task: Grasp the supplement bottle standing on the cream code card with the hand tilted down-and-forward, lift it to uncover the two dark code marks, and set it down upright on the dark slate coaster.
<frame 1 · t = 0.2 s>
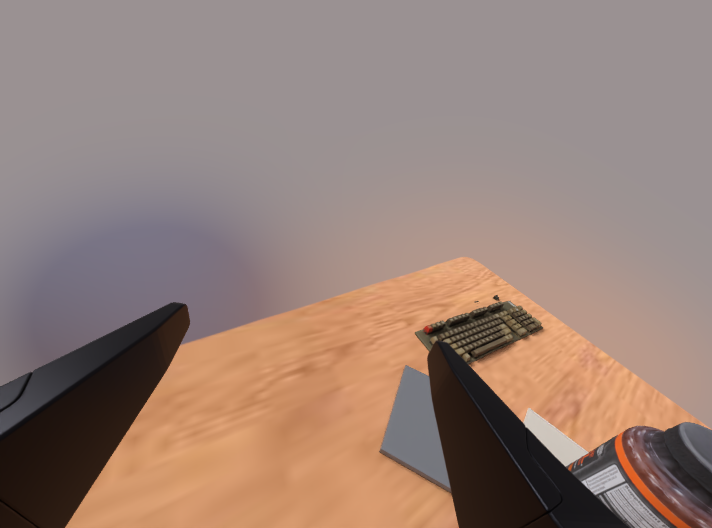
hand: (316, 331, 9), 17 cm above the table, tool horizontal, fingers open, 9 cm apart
slate coaster: (438, 427, 24), on the table
keyboard: (477, 330, 38), on the table
code card: (588, 516, 21), on the table
supplement bottle: (588, 516, 21), resting on code card
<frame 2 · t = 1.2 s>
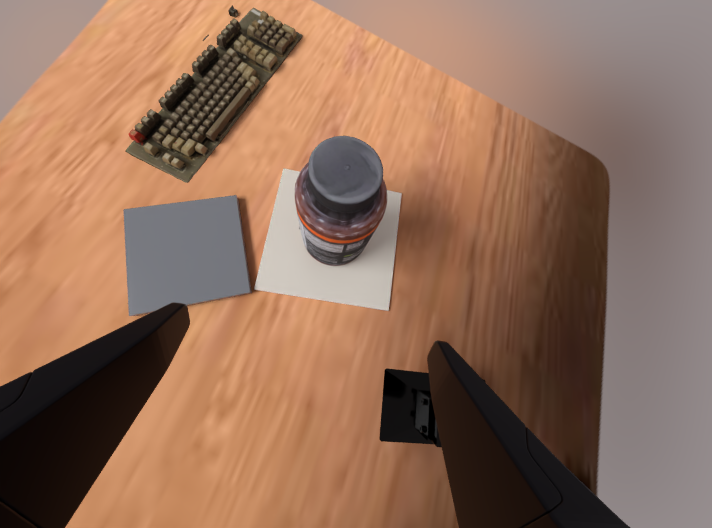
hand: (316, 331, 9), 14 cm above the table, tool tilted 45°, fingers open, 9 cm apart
slate coaster: (190, 252, 22), on the table
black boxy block: (432, 405, 23), on the table
keyboard: (220, 91, 27), on the table
code card: (334, 237, 24), on the table
supplement bottle: (334, 237, 24), resting on code card
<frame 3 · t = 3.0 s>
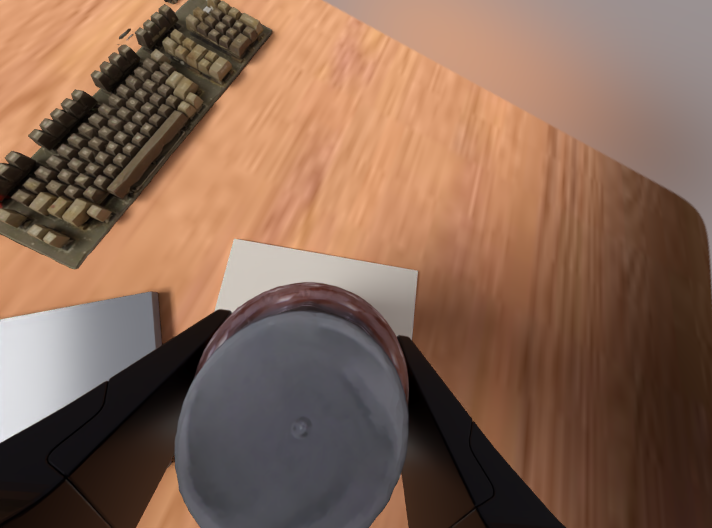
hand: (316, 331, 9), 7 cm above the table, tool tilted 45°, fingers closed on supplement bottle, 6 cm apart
slate coaster: (67, 396, 13), on the table
keyboard: (146, 115, 18), on the table
code card: (312, 351, 15), on the table
supplement bottle: (312, 351, 15), resting on code card, touching gripper
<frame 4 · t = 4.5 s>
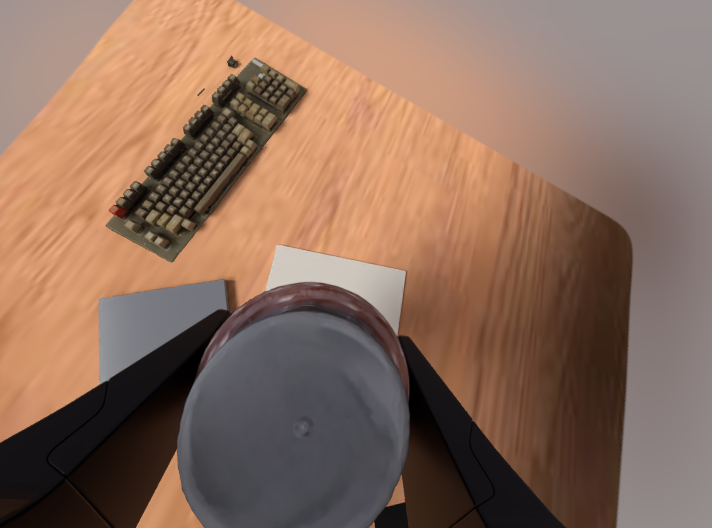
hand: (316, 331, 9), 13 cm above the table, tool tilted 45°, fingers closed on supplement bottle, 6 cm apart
slate coaster: (171, 345, 20), on the table
keyboard: (214, 152, 25), on the table
code card: (330, 324, 22), on the table
supplement bottle: (313, 350, 15), point 7 cm above the table, touching gripper
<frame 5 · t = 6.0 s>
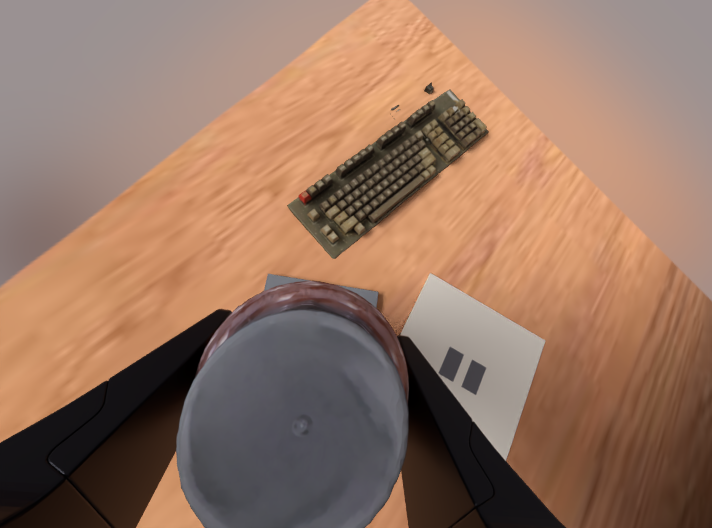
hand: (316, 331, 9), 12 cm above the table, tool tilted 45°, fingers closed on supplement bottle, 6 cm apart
slate coaster: (314, 339, 20), on the table
keyboard: (390, 165, 26), on the table
code card: (461, 370, 22), on the table
supplement bottle: (313, 350, 15), point 5 cm above the table, touching gripper
when the fingers open (8 cm above the table, at t = 7.1 s): supplement bottle stays where it is, resting on slate coaster.
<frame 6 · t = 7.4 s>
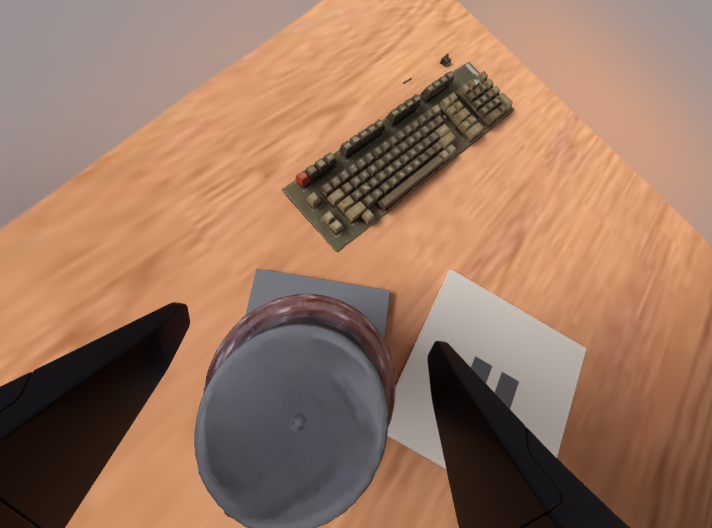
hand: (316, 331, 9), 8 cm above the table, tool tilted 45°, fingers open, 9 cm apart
slate coaster: (313, 348, 17), on the table
keyboard: (401, 146, 22), on the table
code card: (489, 384, 18), on the table
supplement bottle: (312, 352, 16), resting on slate coaster
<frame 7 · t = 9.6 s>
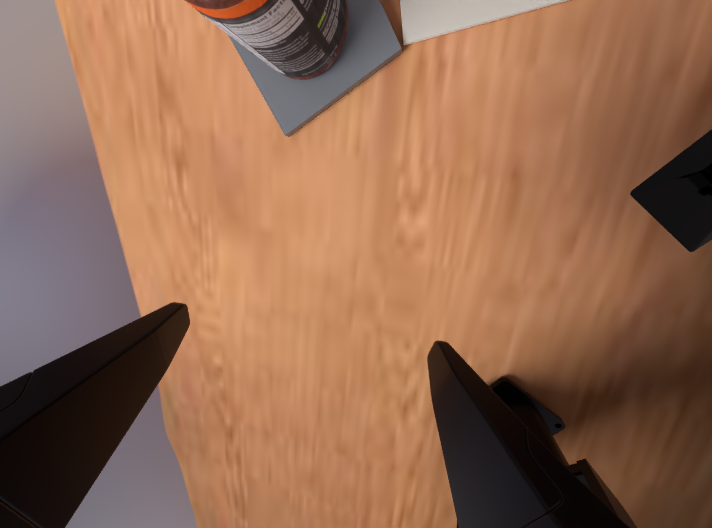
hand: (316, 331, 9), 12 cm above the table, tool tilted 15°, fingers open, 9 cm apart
slate coaster: (305, 29, 16), on the table
supplement bottle: (304, 29, 16), resting on slate coaster
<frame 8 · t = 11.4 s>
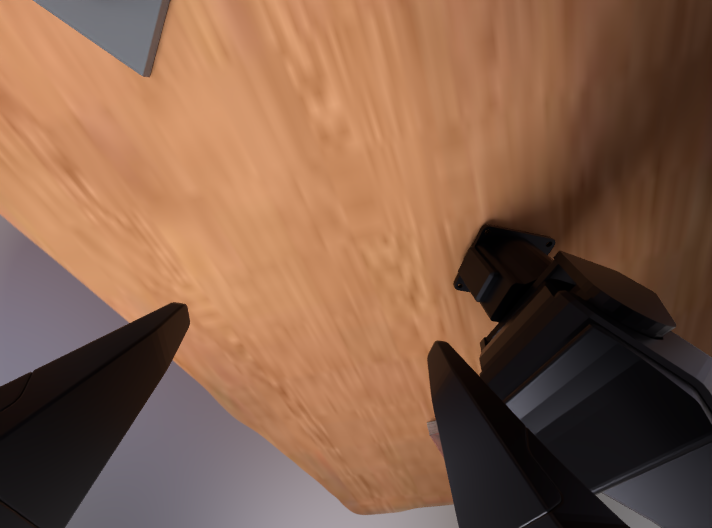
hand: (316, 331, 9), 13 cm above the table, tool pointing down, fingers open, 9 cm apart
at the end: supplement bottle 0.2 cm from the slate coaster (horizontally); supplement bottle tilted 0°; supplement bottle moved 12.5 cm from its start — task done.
